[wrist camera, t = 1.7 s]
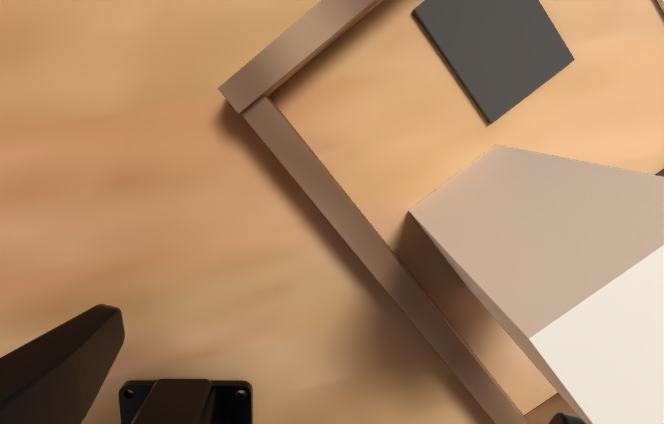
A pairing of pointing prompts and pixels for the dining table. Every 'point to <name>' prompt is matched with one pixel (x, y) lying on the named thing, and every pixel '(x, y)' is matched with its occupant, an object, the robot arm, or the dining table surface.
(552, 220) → the pale cream block
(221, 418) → the robot arm
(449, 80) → the dining table surface
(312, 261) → the dining table surface
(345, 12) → the brown flat frame
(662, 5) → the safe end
